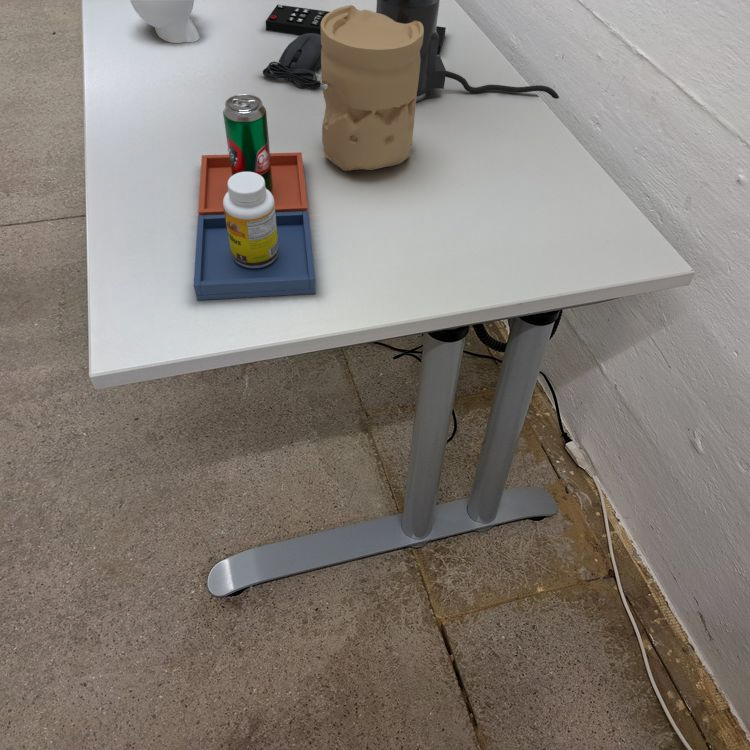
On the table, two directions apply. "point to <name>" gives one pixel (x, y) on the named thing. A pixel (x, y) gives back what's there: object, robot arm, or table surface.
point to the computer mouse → (299, 62)
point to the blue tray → (232, 280)
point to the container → (368, 87)
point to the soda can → (248, 136)
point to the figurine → (168, 18)
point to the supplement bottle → (250, 220)
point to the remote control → (309, 22)
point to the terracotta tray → (284, 191)
